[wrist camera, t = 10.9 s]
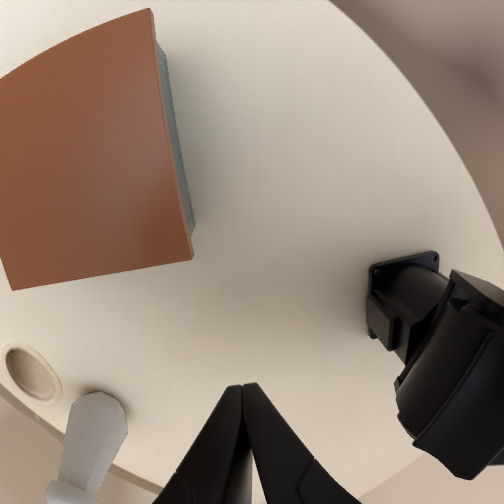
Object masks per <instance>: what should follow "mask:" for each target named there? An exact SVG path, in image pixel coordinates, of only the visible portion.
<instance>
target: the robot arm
mask: <svg viewBox="0 0 504 504" xmlns="http://www.w3.org/2000/svg"><path fill="white" fill-rule="evenodd" d="M433 257H434V259H433ZM377 269H378V272H377V273H375V274H374V272H375V270H377ZM438 269H439V254H438V253H437V252H435V251H430V252H426V253H422V254H418V255H413V256H409V257H405V258H401V259H396V260H392V261H387V262H383V263H378V264H374V265H372V266H371V267H370V269H369V293H368V295H367V311H366V323H367V324H368V335H369V336H370V338H371V339H376V338H378V339H379V340H380V341H381V343H382V344H383V345H384V347H385V348H386V349H387V350H388V351H393V350H394V351H395V353H396V354H397V355H398V357H399V358H400V359H401V361H402V362H403V363H404V364H405V368H404V370H403V371H402V373H401V375H400V376H398V377H397V379H396V380H395V382H394V386H395V391H396V402H397V406H398V409H399V413H398V414H397V417H398V420H399V422H400V423H401V425H402V426H403V427H404V429H405V430H406V432H407V433H408V434H409V435H410V436H411V437H412V438H413V439H414V441H413V443H412V445H413V446H414V447H416V448H419V449H421V450H423V451H426V452H428V453H429V454H431V455H432V456H434V457H435V458H437V459H438V460H439V461H440V462H441V463H442V464H444V466H445V467H447V469H449V471H450V472H451V473H452V474H453V475H454V476H456V477H458V478H462V479H465V480H473V479H474V478H475V477H476V476H477V475H478V474H479V473H480V472H481V471H483V470H484V468H486V467H487V466H493V465H504V290H502V289H500V288H498V287H497V286H495V285H493V284H491V283H490V282H487V281H485V280H482V279H479V278H476V277H474V276H471V275H468V274H465V273H462V272H460V271H457V270H454V269H452V271H451V273H450V276H449V278H450V279H448V278H447V277H445V276H444V275H442V274H441V273H439V272H438ZM373 333H374V334H373ZM252 453H253V456H254V460H255V464H256V467H257V471H258V474H259V478H260V481H261V485H262V488H263V492H264V495H265V498H266V502H267V504H362V503H361V502H359V501H358V500H357V499H356V498H354V497H353V496H352V495H351V494H349V493H348V492H347V491H346V490H345V489H344V488H343V487H342V486H340V485H339V484H338V483H337V482H336V481H335V480H334V479H333V478H332V477H331V476H330V475H329V473H328V472H327V471H326V470H325V469H324V468H323V467H322V466H321V464H320V463H319V462H318V461H317V460H316V459H314V456H313V455H312V454H311V453H310V451H309V450H308V449H307V448H306V446H305V445H304V444H303V443H302V441H301V440H300V439H299V438H298V436H297V435H296V434H295V433H294V431H293V430H292V429H291V427H290V426H289V425H288V424H287V422H286V421H285V420H284V418H283V417H282V416H281V414H280V413H279V412H278V410H277V409H276V408H275V406H274V405H273V404H272V402H271V401H270V400H269V398H268V397H267V396H266V394H265V393H264V392H263V390H262V389H261V387H260V386H259V385H258V384H257V383H248V384H244V385H243V386H242V385H232V386H228V387H227V388H226V390H225V391H224V393H223V395H222V396H221V398H220V400H219V402H218V403H217V405H216V407H215V408H214V410H213V412H212V413H211V415H210V417H209V418H208V420H207V421H206V423H205V425H204V426H203V428H202V430H201V431H200V433H199V435H198V436H197V438H196V439H195V441H194V443H193V444H192V446H191V447H190V449H189V451H188V452H187V454H186V455H185V457H184V459H183V460H182V462H181V463H180V465H179V466H178V468H177V469H176V472H177V473H174V474H173V475H172V477H171V478H170V480H169V482H168V483H167V484H166V486H165V487H164V489H163V490H162V491H161V493H160V494H159V496H158V497H157V498H156V499H155V500H154V502H153V503H152V504H251V499H252V461H253V458H252Z"/></svg>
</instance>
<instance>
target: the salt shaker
mask: <svg viewBox="0 0 504 504" xmlns="http://www.w3.org/2000/svg"><path fill="white" fill-rule="evenodd" d="M127 434H128V425H127V420H126V415H125V411H124V410H123V408H122V406H121V404H120V402H119V401H118V400H117V399H115V398H113V397H111V396H109V395H107V394H105V393H103V392H101V391H99V392H94V393H89V394H86V395H85V396H83V397H81V398H80V399H78V400H77V401H75V402H74V403H73V404H72V405H71V410H70V414H69V419H68V423H67V428H66V433H65V439H64V444H63V450H62V456H61V462H60V469H59V477H58V481H57V480H56V481H51V482H50V483H49V484H48V486H47V488H46V494H45V499H46V500H47V502H48V504H99V503H98V501H97V500H96V499H95V498H94V496H95V495H96V493H97V491H98V489H99V487H100V485H101V483H102V481H103V479H104V477H105V475H106V473H107V472H108V470H109V468H110V466H111V464H112V462H113V460H114V458H115V456H116V454H117V452H118V451H119V449H120V447H121V445H122V443H123V441H124V439H125V437H126V435H127Z"/></svg>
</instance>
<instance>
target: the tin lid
mask: <svg viewBox="0 0 504 504" xmlns="http://www.w3.org/2000/svg"><path fill="white" fill-rule="evenodd" d="M193 256H194V252H193V247H192V243H191V239H190V234H189V230H188V225H187V221H186V216H185V211H184V206H183V202H182V197H181V192H180V187H179V182H178V177H177V172H176V166H175V161H174V156H173V150H172V145H171V139H170V133H169V127H168V121H167V115H166V109H165V103H164V96H163V89H162V82H161V75H160V68H159V60H158V52H157V44H156V35H155V26H154V17H153V13H152V11H151V9H150V8H147V9H143V10H140V11H137V12H134V13H131V14H128V15H125V16H122V17H119V18H117V19H114V20H111V21H109V22H106V23H103V24H101V25H99V26H96V27H94V28H91V29H89V30H87V31H84V32H82V33H80V34H78V35H76V36H74V37H71V38H69V39H67V40H65V41H63V42H61V43H59V44H57V45H55V46H54V47H52V48H50V49H48V50H46V51H44V52H43V53H41V54H39V55H37V56H36V57H34V58H32V59H30V60H29V61H27V62H25V63H24V64H22V65H21V66H19V67H18V68H16V69H14V70H13V71H11V72H10V73H8V74H7V75H5V76H4V77H3V78H1V79H0V258H1V261H2V264H3V267H4V270H5V273H6V276H7V278H8V281H9V284H10V286H11V289H12V291H15V290H20V289H26V288H32V287H37V286H43V285H49V284H54V283H60V282H66V281H72V280H77V279H83V278H89V277H95V276H100V275H106V274H112V273H118V272H123V271H129V270H135V269H141V268H146V267H152V266H158V265H164V264H170V263H175V262H181V261H187V260H192V258H193Z"/></svg>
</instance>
